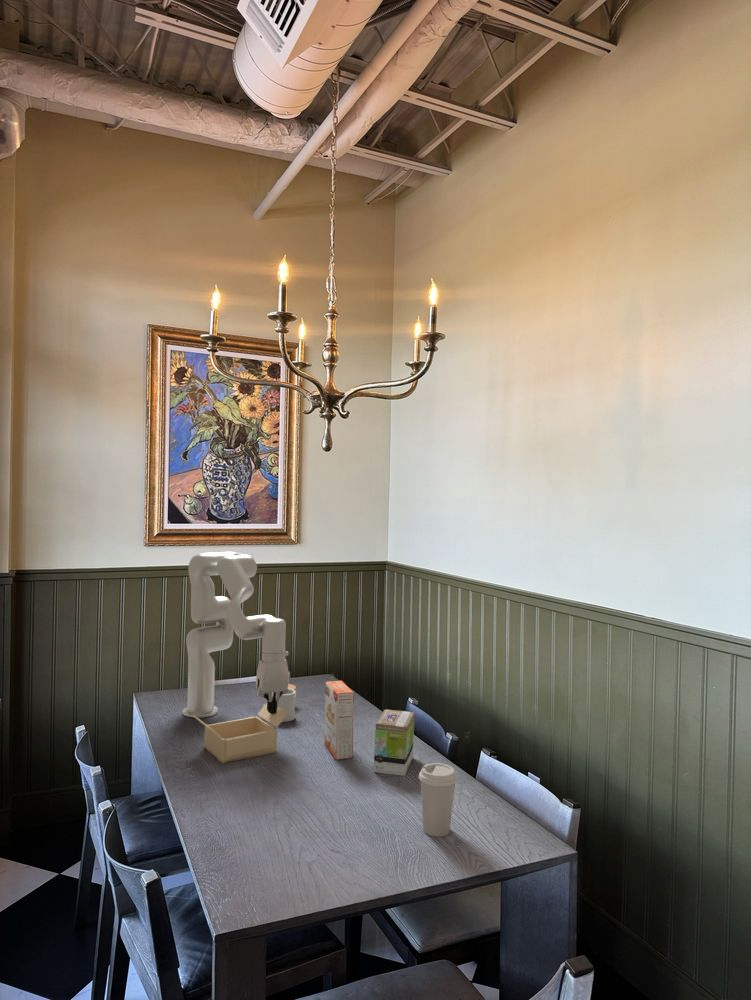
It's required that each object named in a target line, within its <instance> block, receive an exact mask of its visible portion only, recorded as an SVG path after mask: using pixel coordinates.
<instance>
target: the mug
mask: <svg viewBox="0 0 751 1000" xmlns="http://www.w3.org/2000/svg"><path fill="white" fill-rule="evenodd" d="M295 694H297V690H296V691H295V690H293V689H288V692H287V693H285V694H282V696H281V697H280V698H279V701H277V707H279V708H281V709H282V710H284V711H286V712H287V713H288V714H287V715H286V716H285V718H284V719H283V720H282V722H281V723H288V722H292V721H294V719H295V718H296V703H295V701H296V697H295ZM272 696H273V692H272ZM262 701H263V702H264V704H263V705H262V708H263V707H264V705H265V704H266V703H267V700H266V699H265V698H264V697H262ZM262 708H261V709H262Z"/></svg>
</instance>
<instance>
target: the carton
mask: <svg viewBox="0 0 751 1000" xmlns="http://www.w3.org/2000/svg"><path fill="white" fill-rule="evenodd" d="M207 725H208V726H209V727H210V728H212V729H213V730H214V731H215V732H217V733H218V734H219V735H220V736H222V738H221V737H219V736H218V735H216V734H215V733H214V732H212V731H211V730H210V729H208V728H207V727H206V726H205V725H204V749H206V750H207V751H208V752H209V753H210V754H211V755H212V756H214V758H216V759H217V760H218V761H219V762H220V763H221V764H227V763H230V762H234V761H235V762H237V761H239V760H245V759H249V758H254V757H258V756H259V757H260V756H263V755H269V754H273V753H277V747H278V745H277V743H278V742H277V741H278V730H277V729H276V727H273V725H271V724H269V723H267V721H265V720H264V719H261V718H260V717H259V716H252V717H246V718H240V719H234V720H227V721H222V722H216V723H211V724H207Z"/></svg>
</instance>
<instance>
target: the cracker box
mask: <svg viewBox="0 0 751 1000" xmlns="http://www.w3.org/2000/svg"><path fill="white" fill-rule="evenodd" d="M324 702H325V703H324V745H325V747H326V748H327V749H328V751H329V752H330V753H331V755H332V756H333V758H334V759H335V760H336V761H337V760H346V759H353V757H354V756H353V755H354V754H353V752H354V751H353V750H354V749H353V748H354V712H355V711H354V709H355V708H354V707H355V705H354V703H355V692H354V691H353V690H352V689H351V688H350V687H349V686H347V685H346V683H345V682H344V681H343V680H333V681H332V680H330V681H329V680H328V681H325V701H324Z"/></svg>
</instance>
